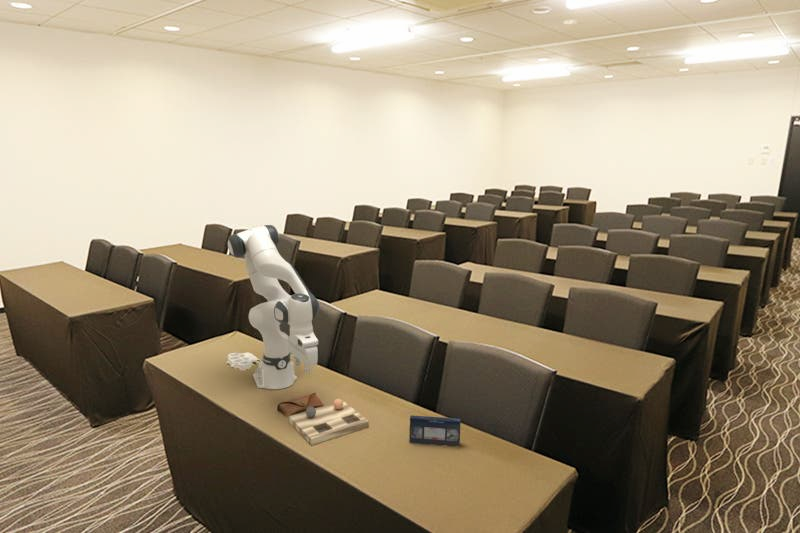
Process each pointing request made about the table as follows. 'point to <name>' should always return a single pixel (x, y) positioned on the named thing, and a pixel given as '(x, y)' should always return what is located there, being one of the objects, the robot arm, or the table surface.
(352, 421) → the hole board
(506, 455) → the table surface
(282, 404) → the sunglasses case
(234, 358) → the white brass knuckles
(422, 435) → the vhs cassette tape
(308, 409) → the charcoal ball
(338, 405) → the terracotta ball
